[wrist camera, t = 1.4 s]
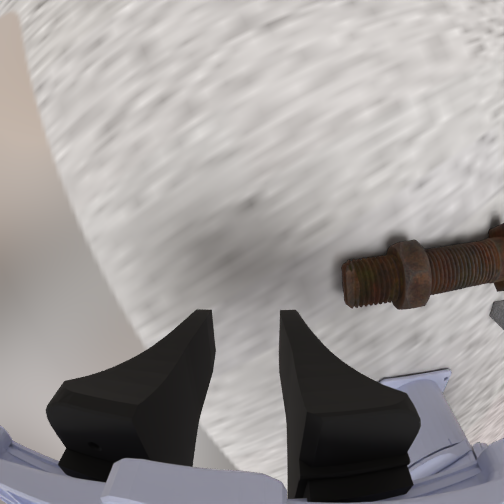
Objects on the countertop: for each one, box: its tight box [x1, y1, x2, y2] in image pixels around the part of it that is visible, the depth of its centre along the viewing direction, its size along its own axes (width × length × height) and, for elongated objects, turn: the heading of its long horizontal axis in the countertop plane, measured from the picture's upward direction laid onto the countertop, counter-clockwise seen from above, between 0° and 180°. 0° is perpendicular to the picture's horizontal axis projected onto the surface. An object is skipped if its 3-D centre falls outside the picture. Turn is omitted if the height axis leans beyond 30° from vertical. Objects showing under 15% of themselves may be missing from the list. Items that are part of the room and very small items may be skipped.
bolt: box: [342, 223, 504, 309], centre depth 19 cm, size 6×5×15 cm
